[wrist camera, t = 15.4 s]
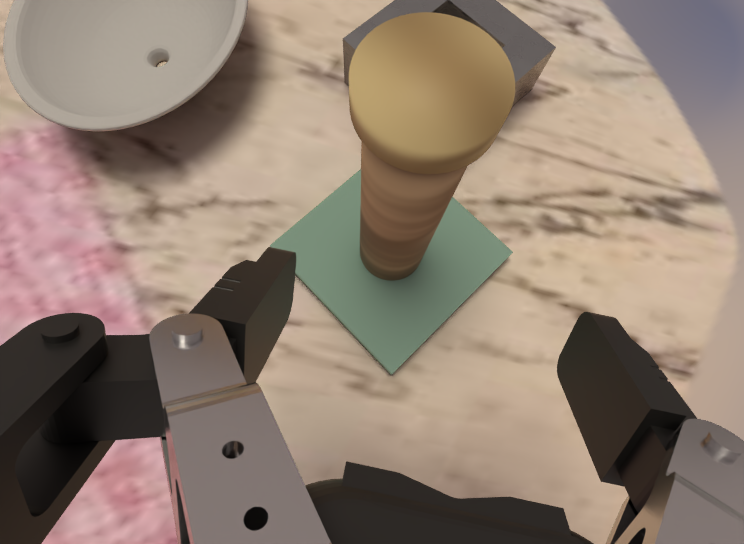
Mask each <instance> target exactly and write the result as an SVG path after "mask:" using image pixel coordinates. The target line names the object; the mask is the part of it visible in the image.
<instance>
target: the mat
mask: <svg viewBox="0 0 744 544" xmlns="http://www.w3.org/2000/svg"><path fill="white" fill-rule="evenodd" d="M360 206H361V169H360V170H359V171H358V172H357V173H356V174H354V175H353V176H352V177H351V178H350V179H349V180H347V181H346V182H345V183H344V184H343V185H341V186H340V187H339V188H338V189H337V190H335V191H334V192H333V193H332V194H331V195H330V196H328V197H327V198H326V199H325V200H324V201H322V202H321V203H320V204H319V205H318V206H316V207H315V208H314V209H313V210H312V211H311V212H309V213H308V214H307V215H306V216H305V217H303V218H302V219H301V220H300V221H299V222H297V223H296V224H295V225H294V226H293V227H291V228H290V229H289V230H288V231H287V232H286V233H284V234H283V235H282V236H281V237H280V238H278V239H277V240H276V241H275V242H274V243H272V244H271V245H270V247H272V248H277V249H282V250H287V251H291V252H295V253H296V270H295V275H296V276H297V277H298V278H299V279H300V280H301V281H302V282H303V283H304V284H305V285H306V286H307V287H308V288H309V289H310V290H311V291H312V293H313V294H314V295H315V296H316V297H317V298H318V299H319V300H320V301H321V302H322V303H323V304H324V305H325V306H326V307H327V308H328V309H329V310H330V312H331V313H332V314H333V315H334V316H335V317H336V318H337V319H338V320H339V321H340V322H341V323H342V324H343V325H344V326H345V327H346V328H347V329H348V330H349V332H350V333H351V334H352V335H353V336H354V337H355V338H356V339H357V340H358V341H359V342H360V343H361V344H362V345H363V346H364V347H365V348H366V349H367V351H368V352H369V353H370V354H371V355H372V356H373V357H374V358H375V359H376V360H377V361H378V362H379V363H380V364H381V365H382V366H383V367H384V368H385V370H386V371H387V372H388V373H389V374H390V375H392V374H393V373H394V372H395V371H396V370H397V369H398V368H399V367H400V366H401V365H402V364H403V363H404V362H405V361H406V360H407V359H408V358H409V357H410V356H411V355H412V354H413V353H414V352H415V351H416V350H417V349H418V348H419V347H420V346H421V345H422V344H423V343H424V342H425V341H426V340H427V339H428V338H429V337H430V335H431V334H432V333H433V332H434V331H435V330H436V329H437V328H438V327H439V326H440V325H441V324H442V323H443V322H444V321H445V320H446V319H447V318H448V317H449V316H450V315H451V314H452V313H453V312H454V311H455V310H456V309H457V308H458V307H459V306H460V305H461V304H462V303H463V302H464V301H465V300H466V299H467V298H468V297H469V296H470V295H471V294H472V293H473V292H474V291H475V290H476V289H477V288H478V287H479V286H480V285H481V284H482V283H483V282H484V281H485V280H486V279H487V278H488V277H489V276H490V275H491V274H492V273H493V272H494V271H495V270H496V269H497V268H498V267H499V266H500V265H501V264H502V263H503V262H504V261H505V260H506V259H507V258H508V257H509V256H510V255H511V254H512V253H513V252H512V251H511V250H510V249H509V248H508V247H507V246H506V245H505V244H503V243H502V242H501V241H500V240H499V239H498V238H497V237H496V236H495V235H494V234H493V233H491V232H490V231H489V230H488V229H487V228H486V227H485V226H484V225H483V224H482V223H481V222H479V221H478V220H477V219H476V218H475V217H474V216H473V215H472V214H471V213H470V212H468V211H467V210H466V209H465V208H464V207H463V206H462V205H461V204H460V203H459V202H458V201H456V200H455V199H454V198H453V197H452V198H451V200H450V202H449V205H448V207H447V209H446V211H445V213H444V215H443V217H442V219H441V221H440V223H439V225H438V227H437V229H436V231H435V233H434V235H433V237H432V239H431V241H430V243H429V245H428V247H427V250H426V252H425V254H424V256H423V258H422V260H421V262H420V264H419V266H418V267H417V269H416V270H415V271H414V272H413V273H412V274H411V275H409V276H408V277H406V278H403V279H400V280H394V281H390V280H383V279H380V278H378V277H376V276H374V275H373V274H371V273H370V272H369V271H368V270H367V269H366V267H365V266H364V264H363V262H362V260H361V257H360Z"/></svg>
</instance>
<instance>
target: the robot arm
mask: <svg viewBox="0 0 744 544" xmlns="http://www.w3.org/2000/svg"><path fill="white" fill-rule="evenodd" d="M295 270H296V253H295V252H291V251H287V250H282V249H277V248H272V247H268V248H267V249H266V251H265V252H264V253H263V254H262V255H261V257H260V258H259V259H258V260H257V262H254V261H249V260H245V261H243V262H241V263H239V264H237V265H235V266H232V267H231V268H230V269H229V270H228V271H227V272H226V273H225V274H224V275H223V277H222V279H220V280H219V281H218V282H217V283H216V284H215V286H214V288H212V289H211V290H210V291H209V292H208V293H207V294H206V295H205V296H204V297H203V298H202V300H201V301H200V302H199V303H198V304H197V305H196V306H195V307H194V308H193V309H192V311H191V312H190V313H189V314H181V315H176V316H173V317H169V318H167V319H165V320H163V321H161V322H160V323H158V324H157V325H156V326H155V327H154V328H153V329H152V331H151V332H150V334H145V335H106V333H105V327H104V324H103V322H102V321H101V320H100V319H98V318H97V317H95V316H92V315H88V314H82V313H65V314H58V315H54V316H50V317H46V318H43V319H41V320H38V321H36V322H34V323H32V324H30V325H28V326H27V327H25V328H24V329H22V330H21V331H20V332H18V333H17V334H16V335H14V336H13V337H12V338H10V339H9V340H8V341H6V342H5V343H4V344H2V345H1V346H0V544H41V543H42V542H43V540H44V539H45V538H46V536H47V535H48V533H49V532H50V531H51V529H52V528H53V526H54V525H55V524H56V522H57V521H58V519H59V518H60V517H61V515H62V514H63V512H64V511H65V510H66V508H67V507H68V506H69V504H70V503H71V501H72V500H73V499H74V497H75V496H76V494H77V493H78V492H79V490H80V489H81V487H82V486H83V485H84V483H85V482H86V481H87V479H88V478H89V476H90V475H91V474H92V472H93V471H94V469H95V468H96V467H97V465H98V464H99V462H100V461H101V460H102V458H103V457H104V456H105V454H106V453H107V451H108V450H109V449H110V447H111V446H112V444H113V443H114V442H115V440H122V439H136V438H150V437H160V441H161V447H162V452H163V458H164V463H165V469H166V474H167V480H168V485H169V491H170V497H171V502H172V508H173V514H174V521H175V528H176V535H177V542H178V544H593V543H592V542H590V541H589V540H587V539H586V538H584V537H582V536H580V535H579V534H577V533H575V532H573V531H571V530H570V529H569V525H568V522H567V519H566V516H565V512H564V509H563V508H559V507H554V506H550V505H545V504H541V503H536V502H531V501H527V500H522V499H517V498H513V497H492V498H467V499H457V498H453V497H450V496H448V495H446V494H443V493H441V492H439V491H437V490H435V489H433V488H431V487H428V486H426V485H424V484H422V483H420V482H418V481H416V480H413V479H411V478H409V477H407V476H405V475H403V474H400V473H397V472H393V471H388V470H383V469H379V468H374V467H369V466H365V465H360V464H356V463H351V462H346V466H345V470H344V475H343V479H331V480H325V481H319V482H315V483H312V484H309V485H305V484H304V482H303V480H302V478H301V476H300V473H299V471H298V469H297V467H296V465H295V462H294V460H293V458H292V456H291V454H290V451H289V449H288V447H287V445H286V443H285V440H284V438H283V436H282V434H281V432H280V429H279V427H278V425H277V423H276V421H275V418H274V416H273V414H272V412H271V410H270V407H269V405H268V403H267V401H266V399H265V396H264V394H263V392H262V390H261V388H260V386H259V385H258V384H257V383H256V380H257V378H258V376H259V374H260V373H261V371H262V369H263V367H264V365H265V363H266V361H267V359H268V357H269V355H270V353H271V351H272V349H273V347H274V346H275V344H276V342H277V340H278V338H279V336H280V334H281V332H282V330H283V328H284V326H285V324H286V322H287V320H288V318H289V315H290V311H291V307H292V301H293V291H294V281H295ZM557 374H558V378H559V381H560V383H561V385H562V388H563V390H564V393H565V395H566V398H567V400H568V402H569V405H570V407H571V410H572V412H573V415H574V417H575V420H576V422H577V424H578V427H579V429H580V432H581V434H582V437H583V439H584V441H585V444H586V446H587V449H588V451H589V454H590V456H591V458H592V461H593V463H594V466H595V468H596V471H597V473H598V476H599V478H600V480H601V482H606V483H611V484H615V485H620V486H625V488H626V490H627V493H628V495H629V496H628V497H627V498H626V500H625V501H624V502H623V504H622V506H621V509H620V511H619V513H618V516H617V518H616V520H615V523H614V525H613V527H612V530H611V532H610V534H609V537H608V539H607V541H606V544H744V441H743V440H742V439H740V438H739V437H738V436H736V435H735V434H733V433H732V432H730V431H728V430H726V429H725V428H723V427H721V426H719V425H716V424H714V423H712V422H709V421H706V420H701V419H697V418H696V416H695V415H694V413H693V412H692V411H691V409H690V408H689V407H688V405H687V404H686V403H685V401H684V400H683V399H682V397H681V396H680V395H679V393H678V392H677V391H676V389H675V388H674V387H673V385H672V384H671V383H670V382H668V381H667V377H666V376H665V375H664V373H663V372H662V371H661V370H659V367H658V365H657V364H656V363H655V361H654V360H653V359H652V357H651V356H650V354H649V353H648V352H647V351H645V350H644V349H643V348H642V347H641V346H639V345H638V344H637V343H636V342H634V341H633V340H632V339H631V338H630V337H629V335H628V334H627V333H626V331H625V330H624V328H623V327H622V326H621V324H620V323H619V322H618V320H617V319H616V318H614V317H609V316H605V315H600V314H595V313H590V312H584V313H582V314H581V315H580V316H579V318H578V320H577V322H576V324H575V326H574V328H573V330H572V332H571V334H570V336H569V338H568V340H567V342H566V344H565V346H564V348H563V350H562V352H561V354H560V356H559V359H558V364H557Z"/></svg>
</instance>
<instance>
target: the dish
mask: <svg viewBox="0 0 744 544" xmlns="http://www.w3.org/2000/svg"><path fill="white" fill-rule="evenodd" d="M247 7H248V0H14V2H13V4H12V6H11V9H10V12H9V15H8V18H7V22H6V26H5V32H4V43H3V51H4V61H5V65H6V70H7V72H8V75H9V78H10V80H11V82H12V84H13V86H14V88H15V90H16V91H17V93H18V94H19V95H20V97H21V98H22V100H23V101H24V102H25V103H26V104H27V105H28V106H29V107H30V108H31V109H33V110H34V111H35V112H36V113H38V114H39V115H41V116H43V117H44V118H46V119H47V120H50V121H52V122H54V123H57V124H59V125H62V126H65V127H68V128H72V129H77V130H83V131H113V130H121V129H125V128H130V127H134V126H137V125H141V124H144V123H147V122H149V121H152V120H154V119H157V118H159V117H161V116H163V115H165V114H167V113H169V112H171V111H173V110H174V109H176V108H178V107H179V106H181V105H182V104H184V103H185V102H187V101H188V100H189V99H191V98H192V97H193V96H195V95H196V94H197V93H198V92H199V91H200V90H202V89H203V88H204V87H205V86H206V85H207V84H208V83H209V82H210V81H211V80H212V79H213V78H214V76H215V75H216V74H217V73H218V72H219V71H220V69H221V68H222V67H223V65H224V64H225V62H226V61H227V60H228V58H229V56H230V55H231V53H232V51H233V50H234V48H235V46H236V44H237V42H238V39H239V37H240V35H241V32H242V29H243V26H244V22H245V19H246V14H247ZM161 61H168V62H167V63H166V64H165V65H163V66H161V67H156V66H157V64H158V63H159V62H161Z"/></svg>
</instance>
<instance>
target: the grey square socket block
mask: <svg viewBox="0 0 744 544" xmlns="http://www.w3.org/2000/svg"><path fill="white" fill-rule="evenodd" d="M420 12H432V13H442V14H447V15H451V16H455V17H458V18H461V19H463V20H466V21H468V22H470V23H472V24H474V25H476V26H478V27H479V28H481V29H482V30H484V31H485V32H486V33H488V34H489V35H490V36H491V37H492V38H493V39H494V40H495V41H496V42H497V43H498V44H499V45H500V46H501V48H502V49H503V51H504V52H505V54H506V55H507V57H508V59H509V61H510V63H511V66H512V69H513V72H514V78H515V96H514V101H513V105H514V104H516V103H517V102H518V101H519V100H520V99H521V98H522V97H523V96H525V95H526V94H527V93H528V92H529V91H530V90H531V89H532V88H533V86H534V84H535V83H536V81H537V79H538V77H539V76H540V74H541V72H542V70H543V69H544V67H545V65H546V64H547V62H548V60H549V58H550V57H551V55H552V53H553V51H554V50H555V48H556V47H555V46H554V45H552V44H551V43H550V42H549V41H547V40H546V39H545V38H543V37H542V36H541V35H540V34H538V33H537V32H536V31H534V30H533V29H532V28H531V27H529V26H528V25H527V24H526V23H524V22H523V21H522V20H520V19H519V18H518V17H517V16H515V15H514V14H513V13H511V12H510V11H509V10H508V9H506V8H505V7H504V6H503V5H501V4H500V3H499V2H497V1H496V0H394V1H393V2H392V3H390V4H389V5H388V6H386V7H385V8H384V9H382V10H381V11H380V12H378V13H377V14H375V15H374V16H373V17H371V18H370V19H369V20H367V21H366V22H365V23H363V24H362V25H361V26H359V27H358V28H357V29H355V30H354V31H353V32H351V33H350V34H348V35H347V36H346V37H344V38H343V53H344V77H345V83H346V84H347V85H349V69H350V64H351V60H352V57H353V55H354V53H355V50H356V49H357V47H358V45H359V44H360V42H361V41H362V40H363V39H364V38H365V37H366V35H367V34H369V33H370V32H371V31H372V30H373V29H374V28H376V27H377V26H379V25H381V24H382V23H384V22H386V21H388V20H390V19H393V18H396V17H398V16H402V15H406V14H411V13H420ZM513 105H512V106H513Z"/></svg>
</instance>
